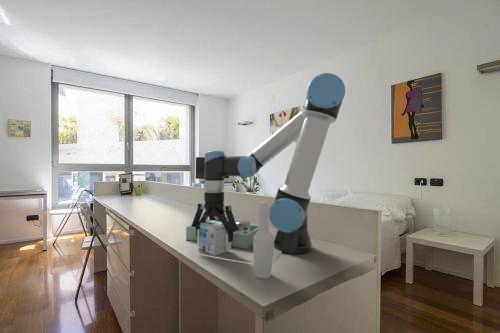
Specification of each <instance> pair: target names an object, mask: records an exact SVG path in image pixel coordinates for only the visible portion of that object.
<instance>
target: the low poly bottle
mask: <svg viewBox="0 0 500 333" xmlns="http://www.w3.org/2000/svg"><path fill="white" fill-rule="evenodd" d="M269 206H270V205H269V203H268V201H259V206H258V207H257V208H258V209H257V211H258V226H259V230H258V231H257V233H256V234H255V235H254V238H253V245H252V249H253V250H252V252H253V265H254V271H255V272H254V273H255V277H256V278H258V279H269V278H271V276H272V266H273V259H274V239H275V236H273V234H272V233H271V231H270V230H269V211H270V207H269Z"/></svg>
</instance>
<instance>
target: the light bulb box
mask: <svg viewBox="0 0 500 333" xmlns="http://www.w3.org/2000/svg"><path fill="white" fill-rule="evenodd" d="M226 233H228V232H227V230H226V229H225V227H224V225H223V224H222V223H221V222H218V221H214V220H212V221H207V222H203V223H201V224H200V246H199V249H200V250H202V251H203V252H206V253H208V254H210V255H211V257H216V256H218V255H221V254H225V253H228V252H229V251H230V250H229V251H226Z"/></svg>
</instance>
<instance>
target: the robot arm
mask: <svg viewBox="0 0 500 333" xmlns="http://www.w3.org/2000/svg"><path fill="white" fill-rule="evenodd" d="M345 86H346V85H345V83H344V81H343V80H342V79H341V77H340V76H338V75H336V74H334V73H331V72H323V73H320V74H317V75H316V76H314V77H313V78H312V79H311V80H310V82H309V83H308V85H307V87H306V98H305V101H304V104H303V105H302V106H301V107H300V110H299V112H298V113H297V114H296V115H294V116H293V117H292V118H291V119H290V120H288V121H287V122H286V123H285V124H284V125H283V126H282V127H280V128H279V129H278V130H276V132H274V133H273V134H272V135H270V137H268V138H267V139H266V140H264V142H261V144H259V145H258V146H257V147H256V148H255V149H254V150H252V151H251V152H250V153H249V154H247V155H239V156H238V155H236V156H235V155H234V156H233V155H232V156H228V155H225V152H224V151H222V150H208V151H206V152H204V153H205V154H204V162H203V163H204V181H203V182H204V184H203V186H204V187H203V190H204V194H203V195H204V196H203V200H204V202H200V203H197V209H196V212H195V215H194V217H193V220H192V222H191V225H192V227H195V228H196V237H197V241H196V242H197V244H196V245H197V247H200V224H201V223H203V222H205V221H206V220H208V218H209V216H217V217H218V218H219V219H220V220H221V222H222V224H223V225H224V227H225V229H226V230H227V232H228V233H226V251H230V250H232V246H231V242H232V241H233V232H235V231H237V230H238V228H237V225H236V222H235V221H236V219H235V217H234V214H233V211H232V210H233V209H232V205H231V204H229V205H225V203H224V202H225V192H224V190H225V177H244V178H246V177H247V178H248V177H253V176H254V175H255V174H257V173H259V171H260V169H262V168H263V167H264V166H265V165H266V164H268V163H269V162H270V161H271V160H273V159H274V158H275V157H276V156H277V155H279V154H280V153H282V151H284V150H285V149H286V148H288V147H289V146H290V145H291V144H292V143H294V142H295V141H297V143H296V145H295V148H294V152H293V155H292V159H291V162H290V165H289V167H288V172H287V174H286V178H285V180H284V183H283V185H280V186H278V189H277V192H276V195H275V198H274V201H273V203H271V205H270V207H269V216H268V218H269V222H271V224H272V226H273V227H274V228H275V229H277V231H276V233H275V236H274V243H273V249H276V250H278V251H281V253H285V254H293V255H298V254H299V255H301V254H306V253H310V252H311V251H312V248H313V243H312V239H311V237H310V234H309V231H308V230H309V229H308V216H309V214H308V209H309V205H310V202H311V199H312V197H311V195H310V193H309V191H310V187H311V184H312V182H313V178H314V175H315V171H316V168H317V166H318V162H319V159H320V156H321V153H322V150H323V148H324V143H325V140H326V138H327V134H328V131H329V128H330V126H331V124H333V123H335V122H336V121H337V118H338V115H339V113H340V109H341V106H342V104H343V101H344V98H345V95H346V87H345ZM204 209H205V211H204ZM223 210H224V211H225V212H223ZM203 212H204V213H203ZM220 214H221V215H220ZM226 217H227V218H226Z"/></svg>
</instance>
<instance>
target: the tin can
mask: <svg viewBox="0 0 500 333" xmlns="http://www.w3.org/2000/svg"><path fill="white" fill-rule="evenodd" d="M235 222H236V225H237V228H238V230H237V231H235V233H242V234H247V233H249V232H250V225H251V222H250V221H249V220H244V219H243V220H242V219H240V220H239V219H238V220H235Z"/></svg>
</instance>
